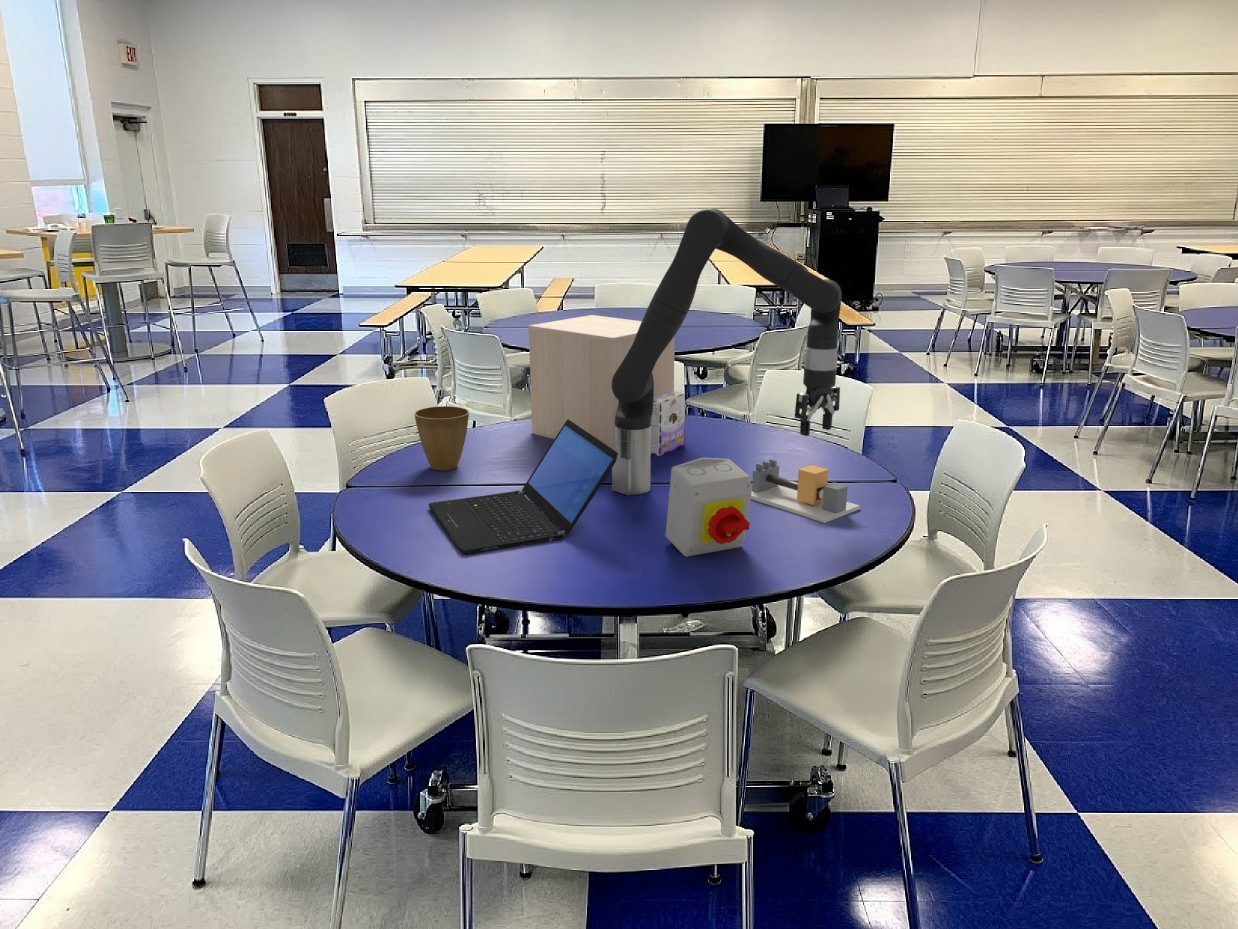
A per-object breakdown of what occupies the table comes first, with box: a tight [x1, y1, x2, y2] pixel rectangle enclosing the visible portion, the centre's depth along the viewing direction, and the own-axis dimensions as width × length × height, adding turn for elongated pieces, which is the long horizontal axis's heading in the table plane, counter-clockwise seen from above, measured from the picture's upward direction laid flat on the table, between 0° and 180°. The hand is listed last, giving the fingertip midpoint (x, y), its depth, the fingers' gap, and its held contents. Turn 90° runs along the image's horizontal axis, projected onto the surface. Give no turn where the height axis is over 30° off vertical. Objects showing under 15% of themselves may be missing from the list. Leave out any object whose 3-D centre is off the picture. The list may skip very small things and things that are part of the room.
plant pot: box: [413, 405, 470, 471], centre depth 263 cm, size 15×15×16 cm
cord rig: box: [751, 458, 861, 524], centre depth 234 cm, size 25×14×8 cm, turn 42°
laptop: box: [428, 419, 618, 555], centre depth 223 cm, size 33×38×19 cm
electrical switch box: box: [665, 457, 752, 558], centre depth 203 cm, size 15×15×20 cm
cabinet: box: [527, 314, 676, 450], centre depth 294 cm, size 35×29×34 cm
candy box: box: [651, 391, 686, 457], centre depth 279 cm, size 14×6×16 cm, turn 144°
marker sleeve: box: [797, 464, 829, 505], centre depth 232 cm, size 5×5×8 cm
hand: (815, 432), depth 227 cm, fingers open, 8 cm apart
